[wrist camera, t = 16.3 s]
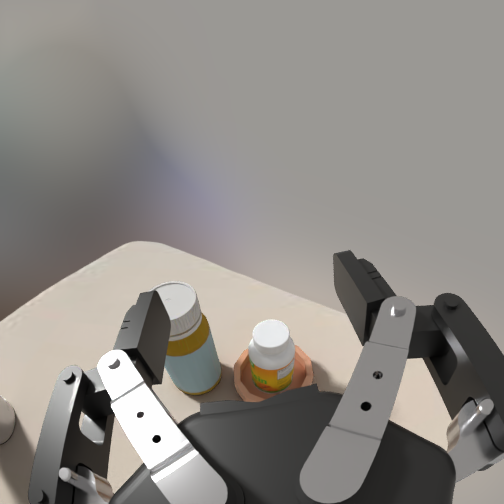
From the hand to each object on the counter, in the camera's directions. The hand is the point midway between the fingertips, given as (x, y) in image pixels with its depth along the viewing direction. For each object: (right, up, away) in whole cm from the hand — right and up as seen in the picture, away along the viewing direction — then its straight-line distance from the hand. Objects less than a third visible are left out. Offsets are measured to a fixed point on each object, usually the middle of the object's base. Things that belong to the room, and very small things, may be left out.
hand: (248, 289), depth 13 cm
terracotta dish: (+3, -16, +23) cm, 28 cm away
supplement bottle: (+3, -15, +23) cm, 28 cm away
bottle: (-7, -16, +25) cm, 30 cm away
